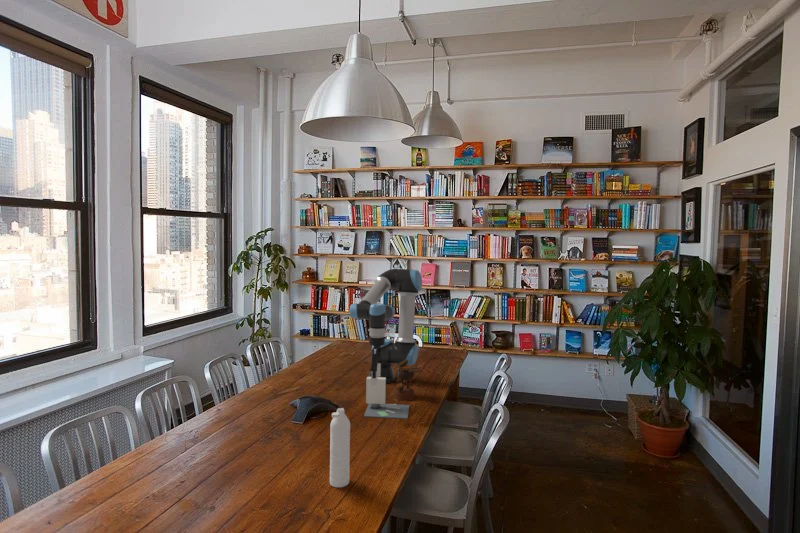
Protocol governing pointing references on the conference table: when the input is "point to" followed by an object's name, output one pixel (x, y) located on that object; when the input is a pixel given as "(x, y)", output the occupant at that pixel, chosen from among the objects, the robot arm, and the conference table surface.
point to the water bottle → (339, 449)
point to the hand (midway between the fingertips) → (375, 380)
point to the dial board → (388, 411)
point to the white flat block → (376, 393)
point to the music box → (404, 382)
